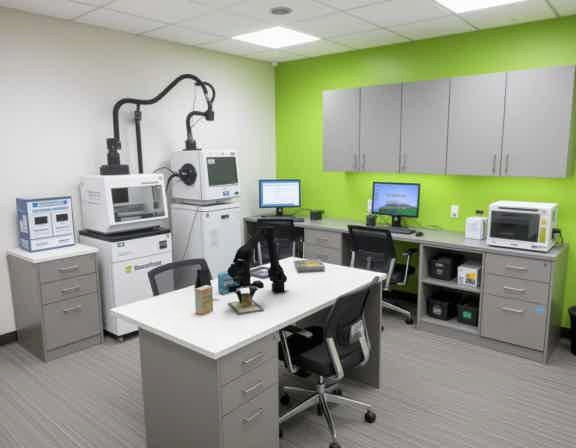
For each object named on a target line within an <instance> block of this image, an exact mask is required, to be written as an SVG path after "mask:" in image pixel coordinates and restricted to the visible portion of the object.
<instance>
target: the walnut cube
mask: <svg viewBox="0 0 576 448" xmlns="http://www.w3.org/2000/svg"><path fill="white" fill-rule="evenodd" d="M249 293H250V292H246V293H245V292H244V293H241V303H240V301H239V300H238V302H239V303H240V304H241V305H242V306H247V305H252V300H253V299H252V300H251V295H250V294H249Z"/></svg>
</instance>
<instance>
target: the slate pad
mask: <svg viewBox="0 0 576 448" xmlns="http://www.w3.org/2000/svg"><path fill="white" fill-rule="evenodd" d="M227 305H228V306H229V308H231V310H232V311H233V312H234V313H235V314H236V315H237V316H240V315H247V314H253V313H259V312H261V313H262V312H265V309H264V308H263V307H262V306H261V305H260V304H259V303H257V302H256V301H255V300H254V299H252V305H247V306H242V305H241V304H240V303H239V301H232V302H227Z"/></svg>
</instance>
